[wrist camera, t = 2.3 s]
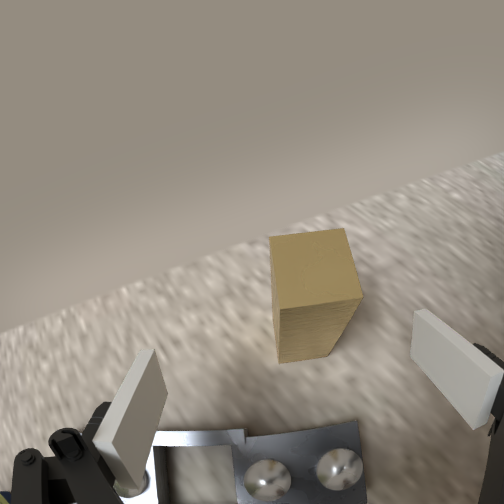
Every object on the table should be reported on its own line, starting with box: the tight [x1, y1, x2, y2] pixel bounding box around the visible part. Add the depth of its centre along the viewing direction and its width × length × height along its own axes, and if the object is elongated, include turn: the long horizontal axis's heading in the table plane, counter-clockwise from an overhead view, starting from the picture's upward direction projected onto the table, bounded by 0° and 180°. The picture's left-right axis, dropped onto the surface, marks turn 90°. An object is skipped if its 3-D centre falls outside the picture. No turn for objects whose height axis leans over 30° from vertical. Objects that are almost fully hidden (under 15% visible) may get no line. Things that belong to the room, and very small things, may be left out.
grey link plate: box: [57, 421, 367, 504], centre depth 17 cm, size 21×7×3 cm, turn 95°
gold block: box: [269, 228, 363, 364], centre depth 19 cm, size 4×4×11 cm
